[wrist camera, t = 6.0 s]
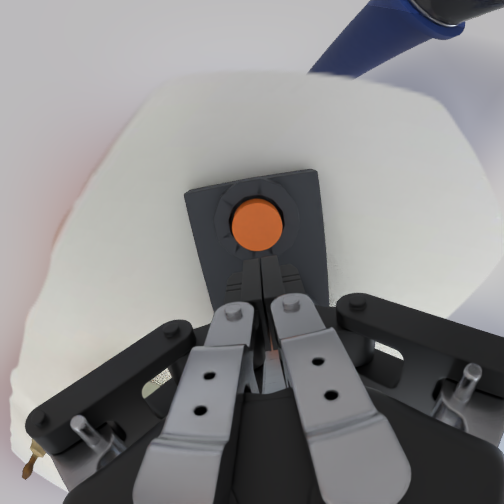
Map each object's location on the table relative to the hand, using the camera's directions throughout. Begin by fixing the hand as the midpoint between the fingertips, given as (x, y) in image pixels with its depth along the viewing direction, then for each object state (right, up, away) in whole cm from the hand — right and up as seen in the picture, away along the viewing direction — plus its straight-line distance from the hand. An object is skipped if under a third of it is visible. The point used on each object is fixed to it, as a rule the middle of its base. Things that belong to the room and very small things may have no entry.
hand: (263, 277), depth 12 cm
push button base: (+1, 0, +14) cm, 14 cm away
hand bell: (-60, -52, +34) cm, 86 cm away
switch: (0, +4, +9) cm, 10 cm away
